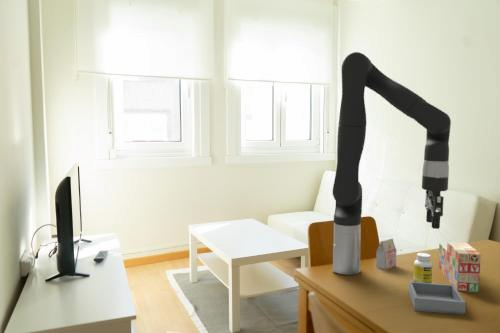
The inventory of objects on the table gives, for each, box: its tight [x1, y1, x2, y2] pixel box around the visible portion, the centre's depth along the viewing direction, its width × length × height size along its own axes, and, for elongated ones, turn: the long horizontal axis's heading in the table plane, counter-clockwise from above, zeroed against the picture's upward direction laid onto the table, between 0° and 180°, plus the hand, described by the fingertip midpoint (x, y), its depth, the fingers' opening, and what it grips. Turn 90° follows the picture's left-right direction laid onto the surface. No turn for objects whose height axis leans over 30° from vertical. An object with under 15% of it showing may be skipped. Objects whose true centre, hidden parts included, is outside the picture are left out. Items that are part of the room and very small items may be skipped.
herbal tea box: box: [375, 238, 397, 271], centre depth 144 cm, size 4×7×10 cm, turn 125°
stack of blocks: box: [438, 241, 482, 293], centre depth 131 cm, size 21×6×12 cm, turn 169°
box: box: [407, 280, 466, 316], centre depth 113 cm, size 13×13×4 cm
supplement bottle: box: [412, 252, 433, 283], centre depth 127 cm, size 5×5×10 cm
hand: (432, 225), depth 126 cm, fingers open, 8 cm apart
